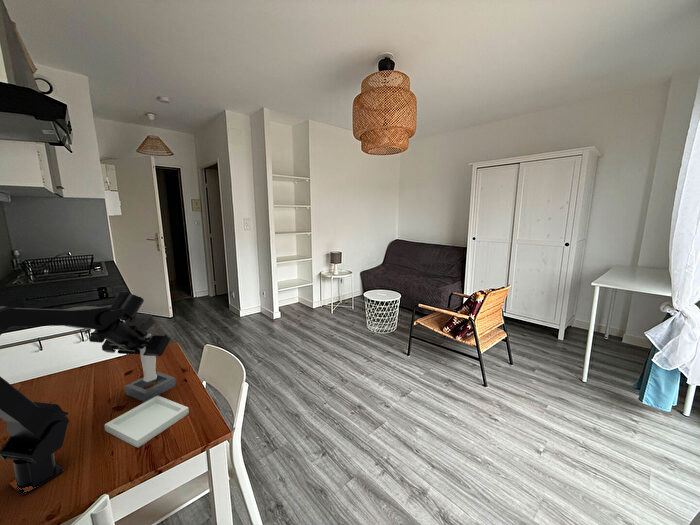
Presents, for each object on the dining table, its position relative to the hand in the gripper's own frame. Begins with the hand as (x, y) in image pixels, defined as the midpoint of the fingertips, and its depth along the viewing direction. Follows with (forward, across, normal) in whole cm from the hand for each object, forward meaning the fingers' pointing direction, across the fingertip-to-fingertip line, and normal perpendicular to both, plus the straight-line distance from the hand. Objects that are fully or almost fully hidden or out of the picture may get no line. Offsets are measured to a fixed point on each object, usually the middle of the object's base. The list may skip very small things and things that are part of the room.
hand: (153, 353), depth 91 cm
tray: (0, -10, +19) cm, 22 cm away
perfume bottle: (+5, 0, +7) cm, 9 cm away
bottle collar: (+10, +2, +9) cm, 13 cm away
